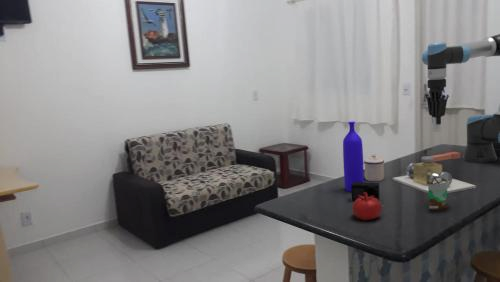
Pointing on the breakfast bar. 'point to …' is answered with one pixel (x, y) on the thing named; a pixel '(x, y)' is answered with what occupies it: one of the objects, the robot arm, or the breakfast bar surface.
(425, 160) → the lever
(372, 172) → the teacup with lid
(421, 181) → the valve body
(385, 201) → the breakfast bar surface
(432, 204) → the food container
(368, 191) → the digital camera
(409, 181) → the mounting board
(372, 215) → the pomegranate
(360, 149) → the bottle
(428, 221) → the breakfast bar surface
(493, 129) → the robot arm
